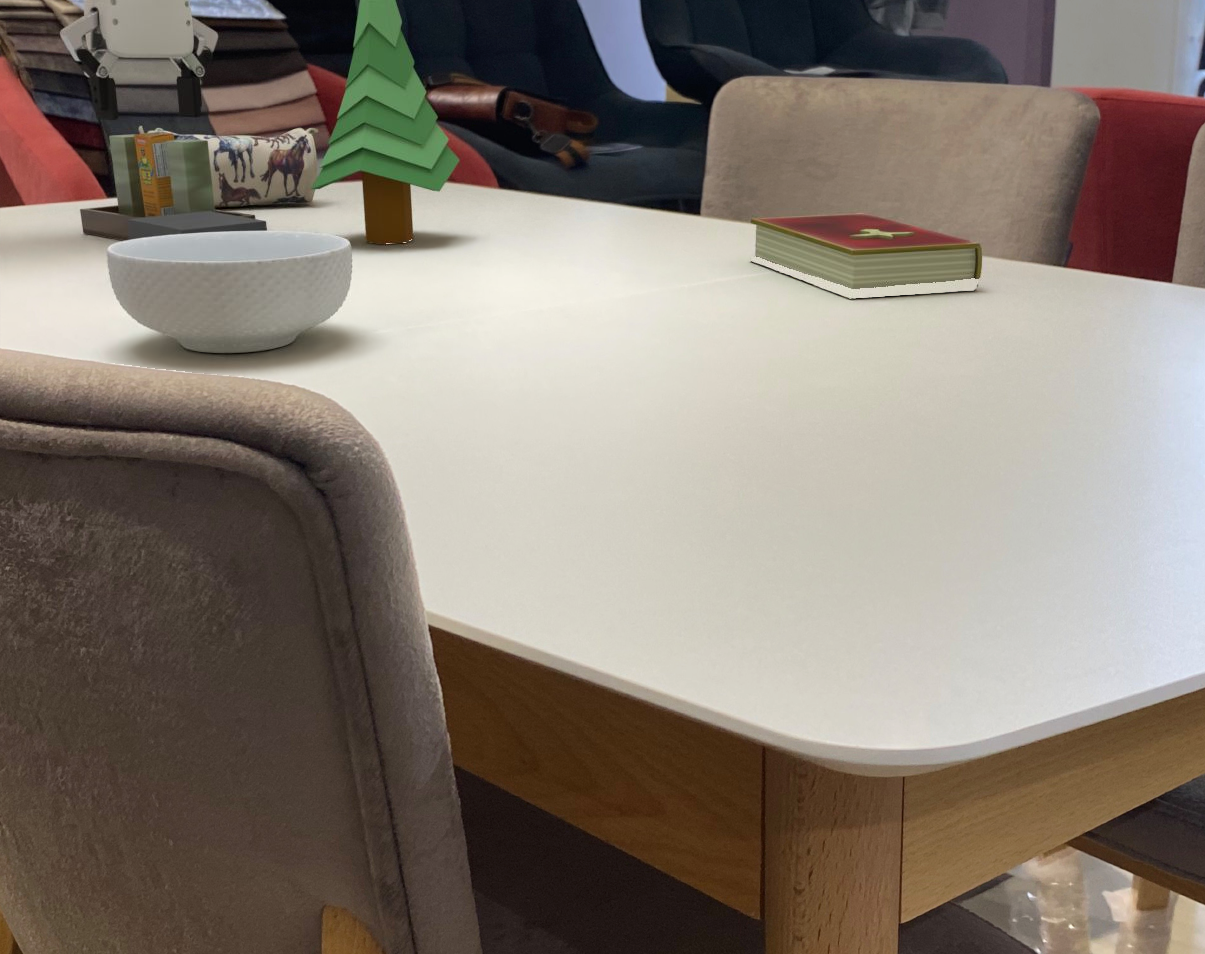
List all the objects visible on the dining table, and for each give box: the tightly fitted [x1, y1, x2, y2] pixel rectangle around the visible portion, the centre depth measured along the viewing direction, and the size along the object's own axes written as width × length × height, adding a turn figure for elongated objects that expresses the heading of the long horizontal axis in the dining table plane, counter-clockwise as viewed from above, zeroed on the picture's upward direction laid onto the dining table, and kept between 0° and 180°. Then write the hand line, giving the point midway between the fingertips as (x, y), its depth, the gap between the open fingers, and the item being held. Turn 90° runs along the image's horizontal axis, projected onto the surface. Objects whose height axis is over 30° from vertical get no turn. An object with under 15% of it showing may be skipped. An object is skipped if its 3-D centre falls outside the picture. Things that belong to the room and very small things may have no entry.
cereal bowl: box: [106, 230, 353, 354], centre depth 102 cm, size 17×17×7 cm
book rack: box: [79, 133, 256, 241], centre depth 153 cm, size 9×19×10 cm, turn 48°
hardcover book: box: [750, 212, 983, 289], centre depth 128 cm, size 12×21×4 cm, turn 17°
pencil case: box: [138, 125, 319, 209], centre depth 177 cm, size 22×8×10 cm, turn 106°
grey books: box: [127, 211, 268, 240], centre depth 127 cm, size 10×11×5 cm
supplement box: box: [134, 132, 175, 217], centre depth 152 cm, size 3×3×10 cm
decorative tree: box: [310, 0, 461, 245], centre depth 145 cm, size 14×16×30 cm
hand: (150, 118), depth 150 cm, fingers open, 9 cm apart
